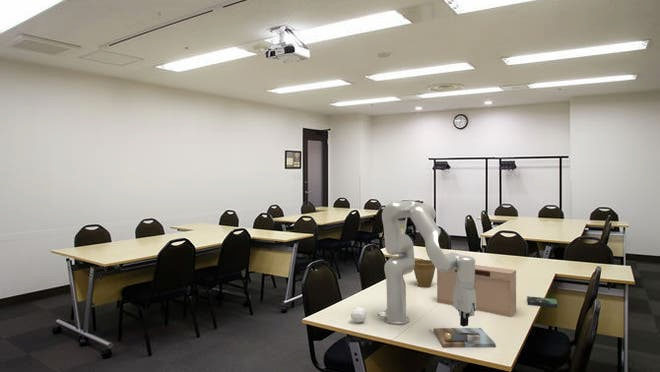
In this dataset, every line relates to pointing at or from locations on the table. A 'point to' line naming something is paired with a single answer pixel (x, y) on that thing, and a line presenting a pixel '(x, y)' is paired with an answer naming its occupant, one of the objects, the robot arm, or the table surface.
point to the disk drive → (542, 302)
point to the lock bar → (457, 336)
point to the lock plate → (442, 337)
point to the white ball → (358, 314)
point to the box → (483, 289)
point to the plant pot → (424, 272)
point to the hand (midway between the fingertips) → (464, 325)
